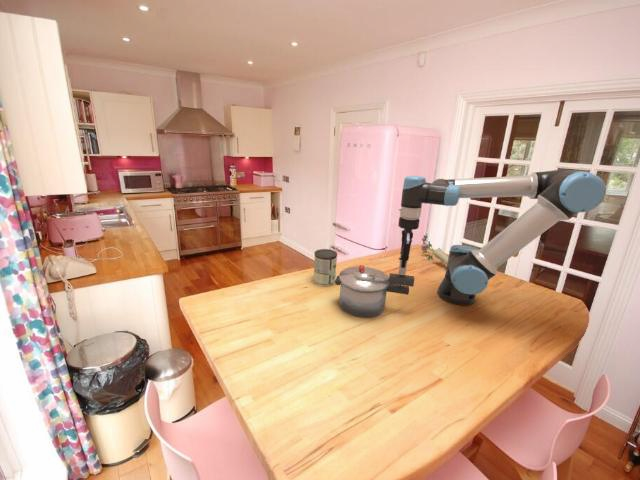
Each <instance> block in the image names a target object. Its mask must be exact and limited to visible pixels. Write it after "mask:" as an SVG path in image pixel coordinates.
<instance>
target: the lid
mask: <svg viewBox="0 0 640 480" xmlns="http://www.w3.org/2000/svg"><path fill="white" fill-rule="evenodd" d="M338 276H339V280H340V282H341V283H342V284H343V285H344V286H346V287H347V288H350V289H352V290H355V291H360V292H380V291H383V290H385V289H387V288H388V287H389V285H390V284H395V285H402V286H409V287H412V288H413V287H414V284H415V276H414V275H409V274H408V275H407V274H405V275H402V274H398V273H392V272H391V273H389V275H388V274H387V273H385V272H384V271H382V270H381V269H380V270H379V269H377V268H373V267H370V266H369V267H368V266H364V265H362V264H361V265H358V266H350V267H347V268H344V269H342V270H341V271H340V272H339V275H338Z"/></svg>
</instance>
